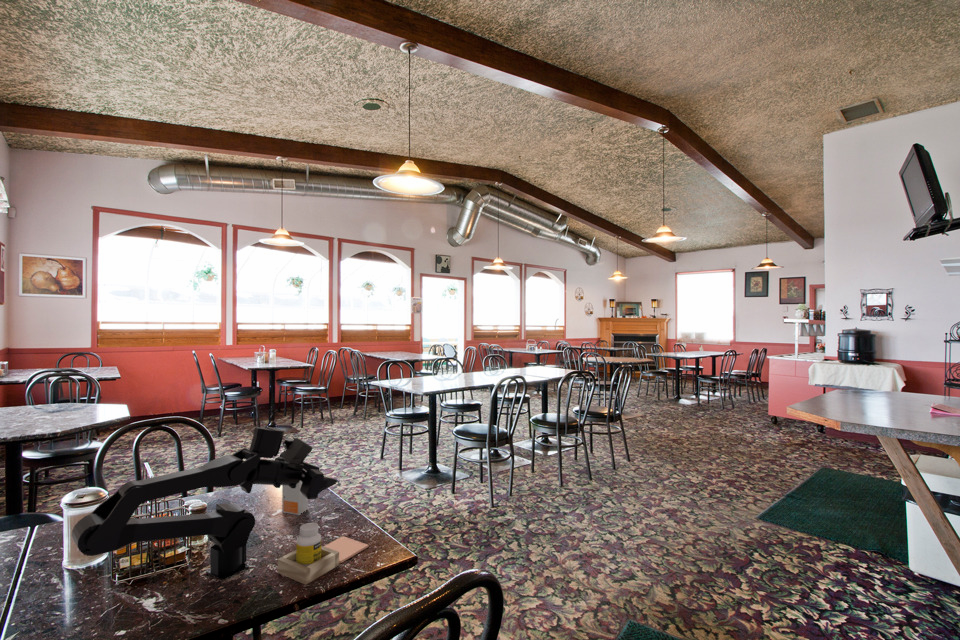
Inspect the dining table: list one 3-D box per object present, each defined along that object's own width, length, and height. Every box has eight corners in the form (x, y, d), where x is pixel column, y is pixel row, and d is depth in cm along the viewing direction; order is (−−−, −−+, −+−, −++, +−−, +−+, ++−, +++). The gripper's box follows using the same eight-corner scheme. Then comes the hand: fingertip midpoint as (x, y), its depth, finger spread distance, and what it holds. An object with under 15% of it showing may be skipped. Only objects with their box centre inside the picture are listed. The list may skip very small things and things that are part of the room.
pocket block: (305, 584, 101) (305, 571, 101) (277, 572, 106) (277, 559, 106) (339, 564, 109) (339, 552, 109) (311, 554, 114) (311, 542, 114)
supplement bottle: (316, 575, 105) (316, 531, 105) (292, 575, 105) (292, 531, 105) (324, 562, 110) (324, 521, 110) (301, 562, 110) (301, 520, 110)
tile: (341, 563, 110) (341, 561, 110) (314, 553, 115) (314, 551, 115) (368, 546, 118) (368, 544, 118) (342, 538, 122) (342, 536, 122)
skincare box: (281, 513, 137) (281, 472, 137) (291, 507, 142) (291, 467, 141) (299, 515, 136) (299, 474, 136) (308, 510, 140) (308, 469, 140)
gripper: (300, 451, 109) (356, 457, 120) (267, 428, 121) (320, 435, 132) (284, 500, 107) (341, 500, 118) (252, 471, 120) (306, 474, 131)
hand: (327, 475), depth 125 cm, fingers open, 9 cm apart
